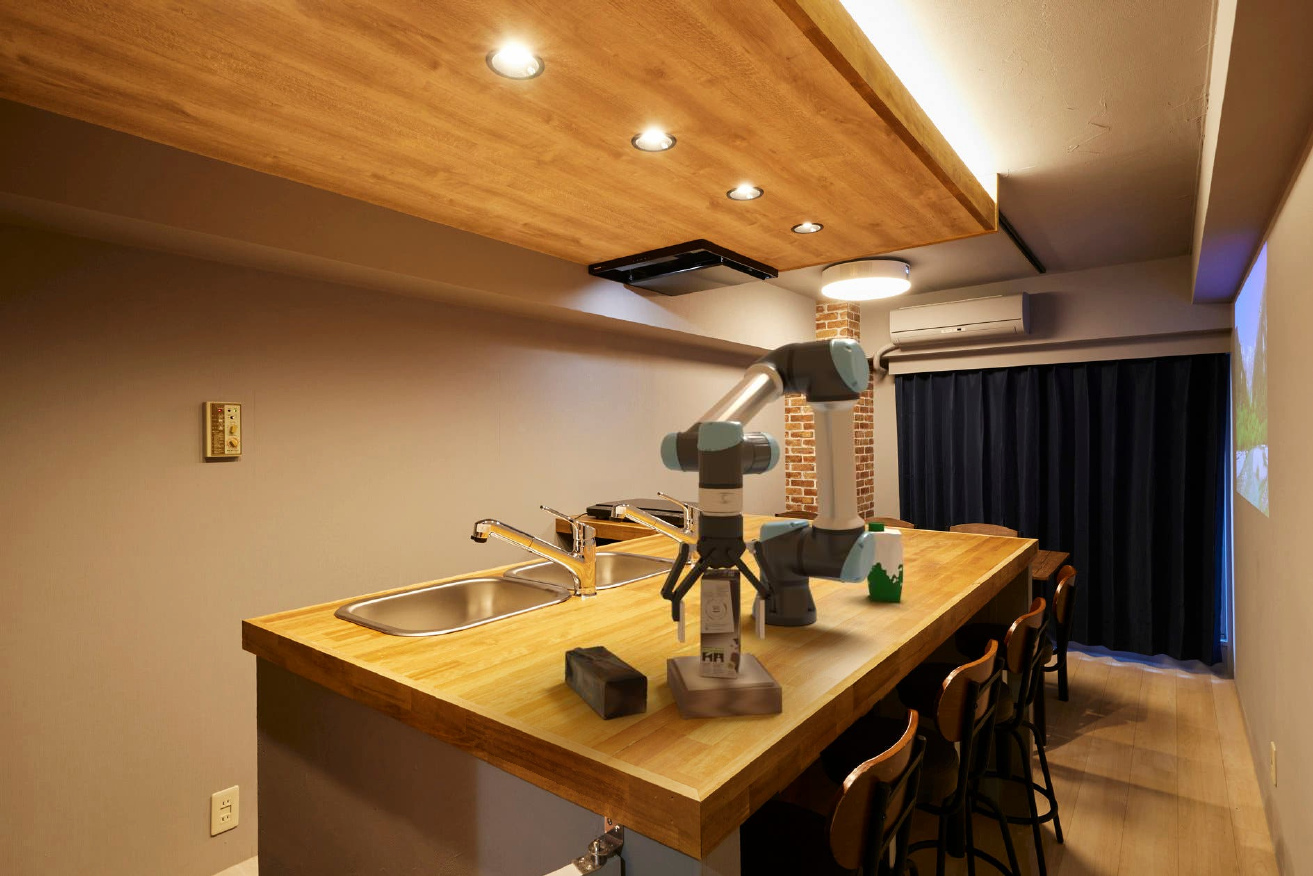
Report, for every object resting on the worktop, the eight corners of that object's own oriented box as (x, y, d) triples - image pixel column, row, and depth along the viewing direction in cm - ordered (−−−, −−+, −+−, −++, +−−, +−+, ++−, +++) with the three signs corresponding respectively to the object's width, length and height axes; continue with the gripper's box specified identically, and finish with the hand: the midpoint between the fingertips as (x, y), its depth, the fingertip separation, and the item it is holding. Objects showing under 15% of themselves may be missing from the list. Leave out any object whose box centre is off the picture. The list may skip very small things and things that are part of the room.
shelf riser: (753, 676, 123) (753, 651, 123) (782, 712, 107) (782, 683, 107) (666, 681, 121) (666, 655, 121) (682, 719, 105) (682, 689, 105)
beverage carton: (604, 675, 125) (603, 640, 124) (650, 714, 108) (650, 673, 108) (563, 682, 121) (563, 646, 121) (604, 723, 104) (604, 682, 104)
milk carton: (865, 593, 184) (865, 520, 184) (900, 595, 182) (900, 521, 182) (868, 601, 176) (868, 525, 175) (904, 603, 173) (905, 526, 173)
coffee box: (739, 679, 109) (738, 580, 109) (699, 677, 110) (699, 578, 110) (742, 660, 118) (741, 568, 118) (705, 658, 119) (705, 567, 119)
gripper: (650, 517, 108) (650, 649, 109) (799, 514, 112) (799, 641, 112) (644, 511, 116) (644, 635, 116) (784, 508, 119) (784, 628, 120)
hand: (720, 638), depth 114 cm, fingers open, 13 cm apart
